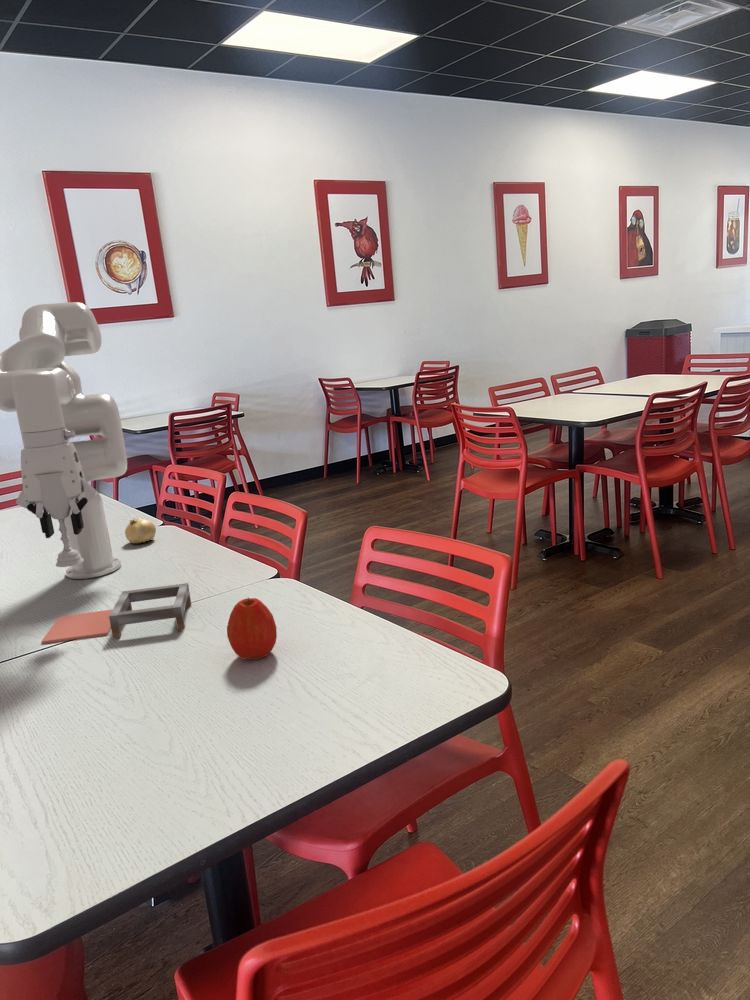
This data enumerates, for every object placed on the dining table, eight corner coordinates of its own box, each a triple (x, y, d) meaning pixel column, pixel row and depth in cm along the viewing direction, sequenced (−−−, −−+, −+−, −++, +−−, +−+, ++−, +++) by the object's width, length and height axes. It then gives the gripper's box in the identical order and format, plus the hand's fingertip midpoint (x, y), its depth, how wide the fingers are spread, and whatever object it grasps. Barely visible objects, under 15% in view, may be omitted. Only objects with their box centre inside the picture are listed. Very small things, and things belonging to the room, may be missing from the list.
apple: (238, 672, 115) (229, 611, 113) (224, 653, 122) (216, 595, 120) (286, 658, 119) (278, 598, 116) (270, 640, 126) (262, 584, 123)
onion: (135, 538, 199) (131, 513, 197) (162, 537, 198) (158, 512, 196) (121, 547, 191) (117, 521, 190) (149, 546, 190) (145, 520, 188)
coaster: (59, 618, 144) (59, 616, 144) (120, 610, 146) (120, 608, 146) (41, 643, 133) (41, 641, 133) (107, 634, 134) (107, 632, 134)
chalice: (97, 557, 138) (80, 466, 134) (72, 569, 132) (53, 474, 127) (67, 556, 140) (49, 467, 136) (41, 568, 134) (22, 475, 130)
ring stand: (126, 612, 145) (122, 591, 144) (191, 603, 146) (188, 582, 145) (113, 639, 132) (108, 616, 131) (184, 629, 134) (180, 606, 133)
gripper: (97, 431, 135) (114, 523, 139) (4, 441, 133) (24, 534, 137) (87, 437, 128) (105, 534, 132) (-11, 447, 126) (10, 545, 130)
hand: (64, 533), depth 135 cm, fingers closed on chalice, 4 cm apart
